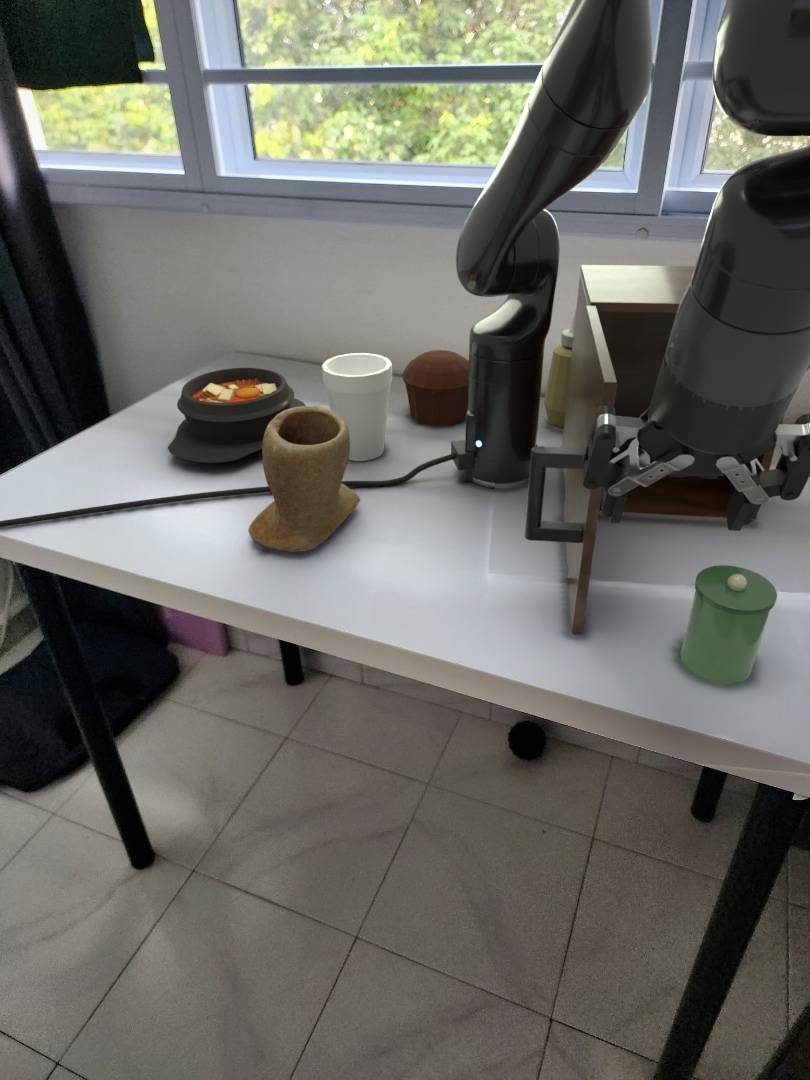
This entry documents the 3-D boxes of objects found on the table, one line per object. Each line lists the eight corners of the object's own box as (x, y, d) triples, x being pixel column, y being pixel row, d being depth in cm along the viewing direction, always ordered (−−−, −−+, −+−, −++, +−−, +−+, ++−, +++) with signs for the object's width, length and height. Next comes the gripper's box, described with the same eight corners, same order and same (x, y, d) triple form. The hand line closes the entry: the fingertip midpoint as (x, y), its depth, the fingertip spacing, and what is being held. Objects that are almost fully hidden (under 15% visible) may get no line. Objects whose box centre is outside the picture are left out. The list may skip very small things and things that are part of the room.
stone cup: (324, 570, 83) (312, 448, 75) (236, 546, 88) (217, 428, 80) (385, 507, 95) (381, 395, 87) (305, 489, 99) (294, 381, 91)
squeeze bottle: (603, 421, 116) (618, 303, 106) (583, 440, 110) (598, 318, 100) (554, 411, 119) (565, 296, 110) (533, 429, 114) (542, 309, 104)
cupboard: (753, 526, 89) (814, 306, 75) (566, 516, 92) (590, 302, 78) (722, 462, 103) (768, 266, 89) (561, 455, 106) (580, 264, 92)
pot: (684, 683, 67) (706, 595, 62) (673, 635, 73) (692, 551, 67) (762, 689, 66) (790, 601, 61) (744, 641, 72) (769, 556, 67)
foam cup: (404, 443, 110) (403, 358, 103) (376, 470, 103) (372, 380, 96) (348, 433, 114) (342, 349, 107) (317, 458, 107) (309, 370, 100)
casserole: (252, 484, 101) (243, 426, 96) (138, 463, 106) (125, 408, 102) (333, 414, 120) (329, 363, 116) (234, 399, 126) (226, 351, 121)
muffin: (395, 426, 115) (393, 364, 110) (410, 399, 125) (409, 340, 119) (471, 432, 113) (473, 368, 108) (481, 404, 122) (483, 344, 117)
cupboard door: (517, 629, 74) (537, 380, 60) (519, 515, 92) (535, 304, 78) (582, 634, 73) (617, 382, 59) (570, 518, 91) (596, 305, 77)
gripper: (856, 313, 44) (765, 483, 57) (606, 306, 45) (575, 472, 59) (884, 409, 40) (778, 567, 53) (608, 397, 41) (574, 553, 55)
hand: (671, 517), depth 56 cm, fingers open, 8 cm apart
